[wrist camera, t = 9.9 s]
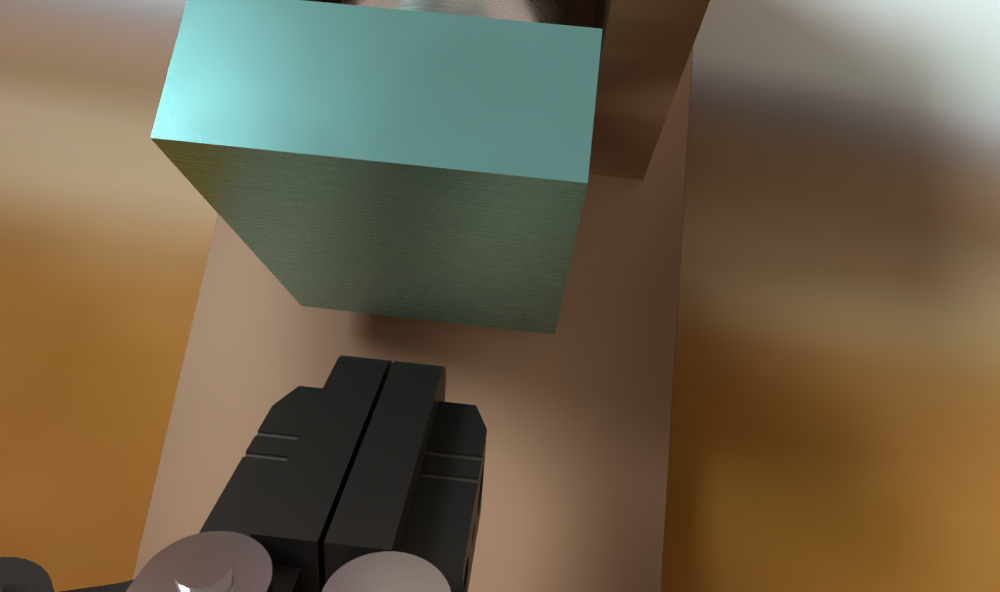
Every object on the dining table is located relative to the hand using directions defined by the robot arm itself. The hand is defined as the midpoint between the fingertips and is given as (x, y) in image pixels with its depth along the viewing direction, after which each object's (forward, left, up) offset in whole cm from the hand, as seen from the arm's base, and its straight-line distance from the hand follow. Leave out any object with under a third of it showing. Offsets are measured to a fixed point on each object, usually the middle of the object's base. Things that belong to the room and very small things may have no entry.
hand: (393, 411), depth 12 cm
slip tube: (0, +15, -4) cm, 15 cm away
